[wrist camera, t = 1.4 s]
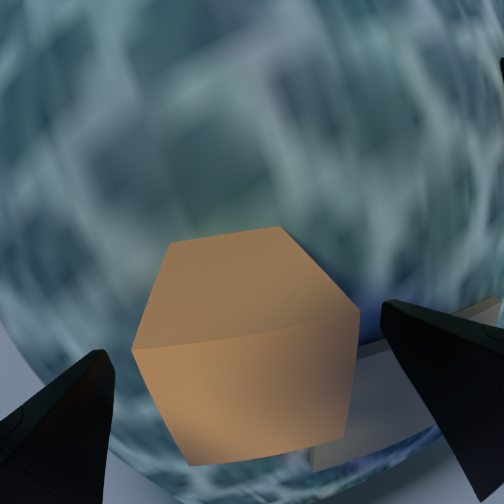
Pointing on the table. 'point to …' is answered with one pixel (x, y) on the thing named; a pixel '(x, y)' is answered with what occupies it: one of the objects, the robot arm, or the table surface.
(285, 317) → the terracotta block
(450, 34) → the table surface
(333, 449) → the rest mat
